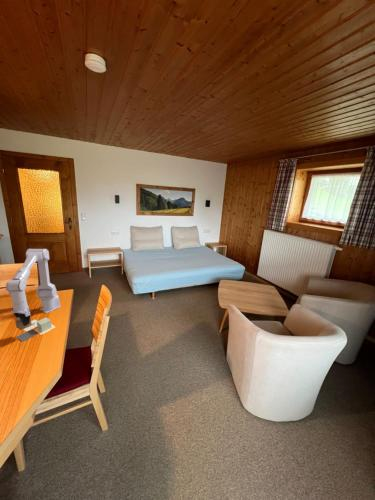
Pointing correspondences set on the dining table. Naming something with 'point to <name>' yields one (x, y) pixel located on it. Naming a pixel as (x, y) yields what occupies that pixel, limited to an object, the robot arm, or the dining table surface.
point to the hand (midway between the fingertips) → (24, 322)
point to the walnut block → (21, 324)
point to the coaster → (26, 335)
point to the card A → (34, 324)
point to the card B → (44, 331)
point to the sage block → (44, 324)
